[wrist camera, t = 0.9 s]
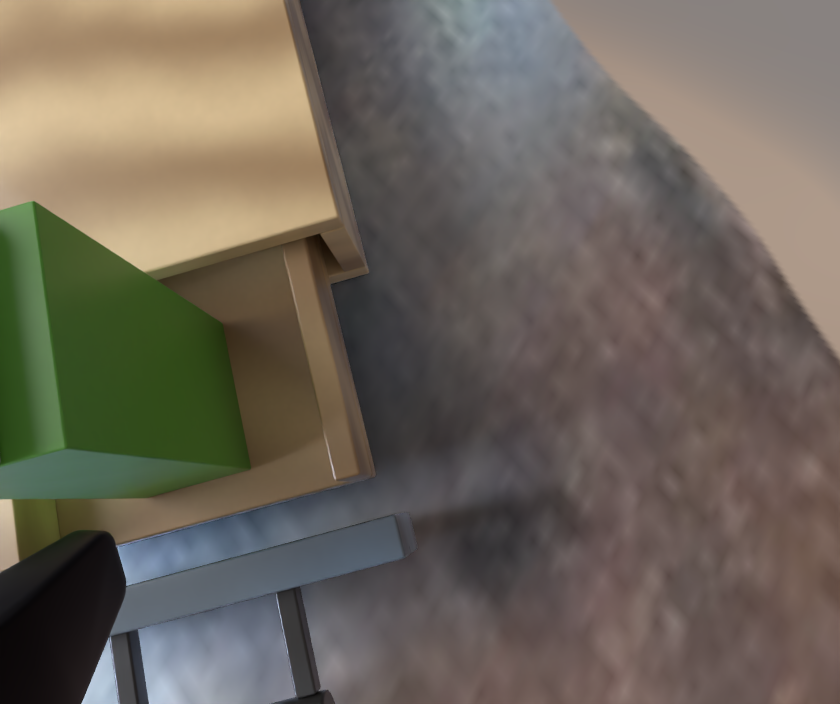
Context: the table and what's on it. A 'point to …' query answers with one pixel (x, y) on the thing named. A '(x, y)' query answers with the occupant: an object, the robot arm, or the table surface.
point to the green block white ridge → (105, 373)
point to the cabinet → (173, 129)
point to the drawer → (253, 489)
